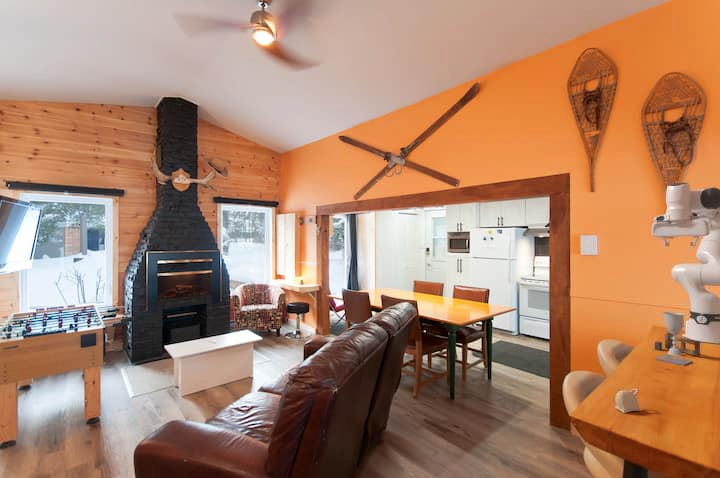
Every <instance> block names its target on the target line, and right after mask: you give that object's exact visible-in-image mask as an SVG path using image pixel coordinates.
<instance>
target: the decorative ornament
mask: <svg viewBox="0 0 720 478" xmlns="http://www.w3.org/2000/svg"><path fill="white" fill-rule="evenodd" d="M638 394H639V390H638V388H633V389H631V390H630V391H629V390H623V389H622V390H619V391H618V392H617V393H616V394H615V397H614V398H615V399H614V401H615V404H616V406H614V408H616V409H617V410H618V411H619V412H621V413H622V414H627V413H630V412H632V411H634V412H635V411H637V412H642V409H641V408H640V405H639V401H638V399H637V398H636V396H637V395H638Z"/></svg>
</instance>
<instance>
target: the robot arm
mask: <svg viewBox="0 0 720 478" xmlns="http://www.w3.org/2000/svg"><path fill="white" fill-rule="evenodd" d="M665 204H666V210H665V214H660V215H658V216H655V217H654V218H653V221H654V222H653V223H652V224H651V236H652V237H654V238H660V240H661V241H662V242H663V246H664V247H670V242H668V241H667V238H668V237H669V238H670V237H674V238H675V237H692V238H693V241H692V242H691V241H690V243H689V246H690V247H696V246H697V242H698V241H699V239H700V237H702V238H701V240H700V242H699V245H698V248H697V250H696V253H695V258H696V260H697V261H698V262H699V263H689V262H688V263H679V264H676V265H674V266H673V267H672V269H671V271H670V273H671V274H670V275H671V277H672V279H673V280H674V281H675V282H676V283H678V284H679V285H681V286H682V287H683V288H684V290H685V291H686V292H687V294H688V296H689V302H690V303H689V304H690V310H689V319H688V320H686V322H685V333H682V334H681V336H682V338H686V339H689V340H694V341H698V342H702V343H711V344H717V345H718V344H720V297H719V296H718V295H717V294H715V293H713V292H710V291H708V290H707V288H706V287H705V286H710V287H711V286H712V287H720V188H718V187H708V188H701V189H693V190H691V187H690V184H689V182H677V183H671V184H669V185H667V187H666V192H665Z"/></svg>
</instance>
